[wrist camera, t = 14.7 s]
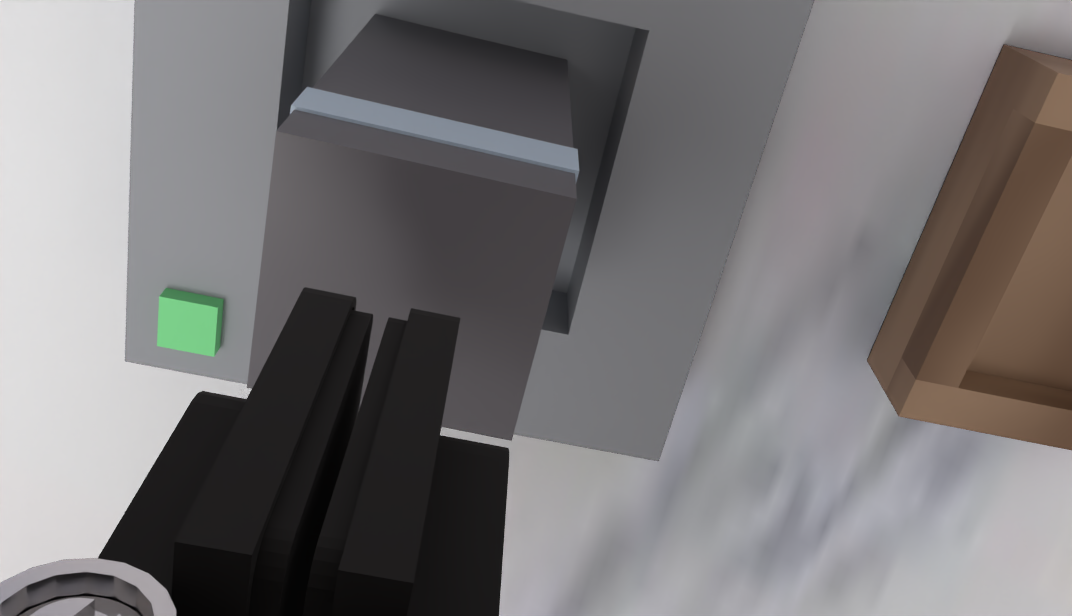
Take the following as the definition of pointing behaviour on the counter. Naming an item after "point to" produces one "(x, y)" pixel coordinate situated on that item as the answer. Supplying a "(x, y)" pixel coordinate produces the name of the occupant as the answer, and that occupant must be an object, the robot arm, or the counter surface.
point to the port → (602, 185)
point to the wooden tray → (994, 270)
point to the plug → (427, 202)
